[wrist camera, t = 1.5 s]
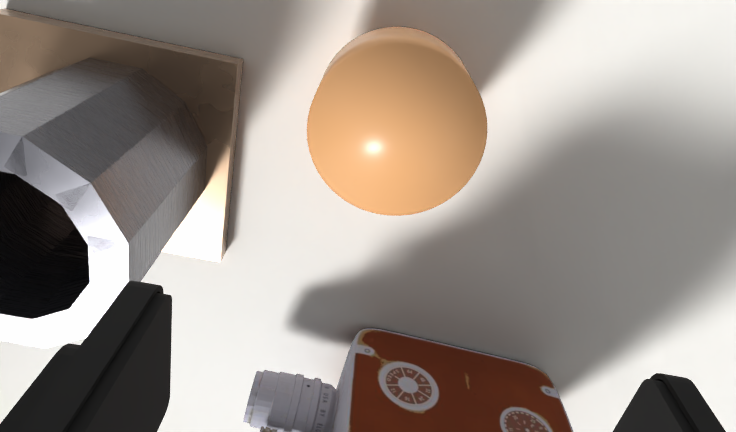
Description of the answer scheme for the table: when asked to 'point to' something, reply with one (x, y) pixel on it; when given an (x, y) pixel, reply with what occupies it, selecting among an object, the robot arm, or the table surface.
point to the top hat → (104, 167)
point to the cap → (396, 122)
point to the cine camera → (410, 392)
